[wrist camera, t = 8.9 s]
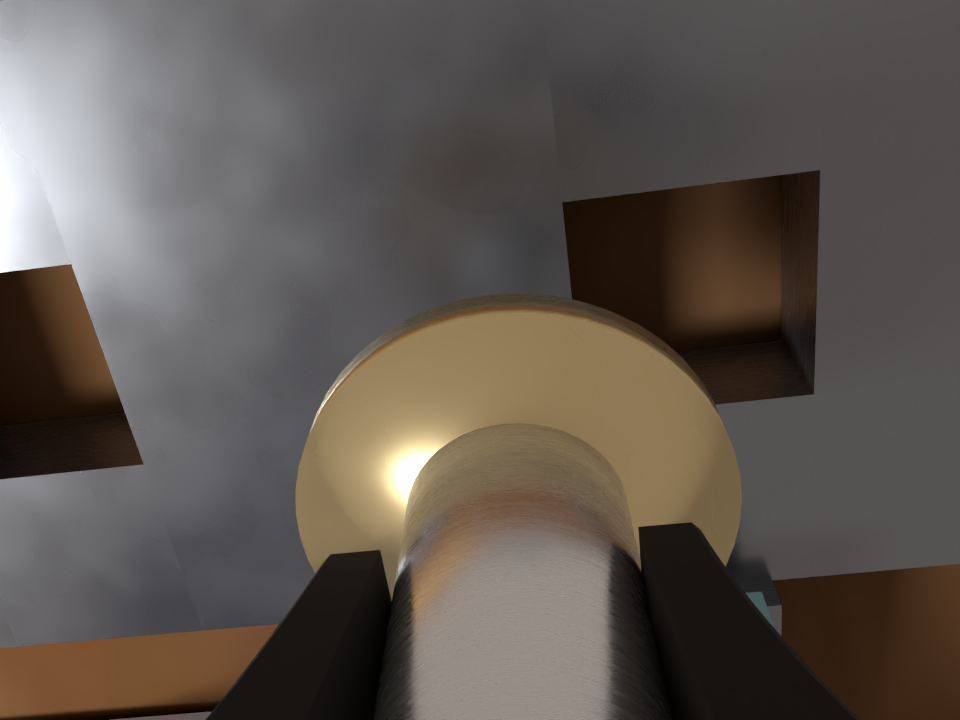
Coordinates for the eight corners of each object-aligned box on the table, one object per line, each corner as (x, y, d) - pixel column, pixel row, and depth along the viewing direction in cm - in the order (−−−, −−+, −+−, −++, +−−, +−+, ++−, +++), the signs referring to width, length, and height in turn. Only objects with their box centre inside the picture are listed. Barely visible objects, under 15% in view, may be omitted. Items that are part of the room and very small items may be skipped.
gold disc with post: (702, 536, 16) (857, 1043, 9) (367, 565, 17) (267, 1068, 10) (696, 211, 14) (909, 570, 6) (297, 256, 14) (84, 636, 7)
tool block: (913, 701, 26) (966, 807, 23) (26, 768, 28) (-31, 872, 25) (1000, -158, 16) (1108, -168, 13) (-349, 49, 18) (-512, 80, 16)
